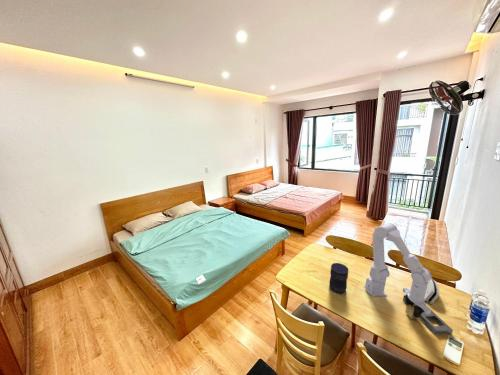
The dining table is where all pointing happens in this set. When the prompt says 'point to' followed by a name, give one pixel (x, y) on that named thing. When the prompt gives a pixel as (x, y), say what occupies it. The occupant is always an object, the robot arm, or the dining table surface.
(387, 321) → the dining table surface
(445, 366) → the dining table surface
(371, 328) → the dining table surface
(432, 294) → the white black rounded piece
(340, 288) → the storage jar
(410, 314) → the brass nut
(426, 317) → the grey recessed tray
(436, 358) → the dining table surface
